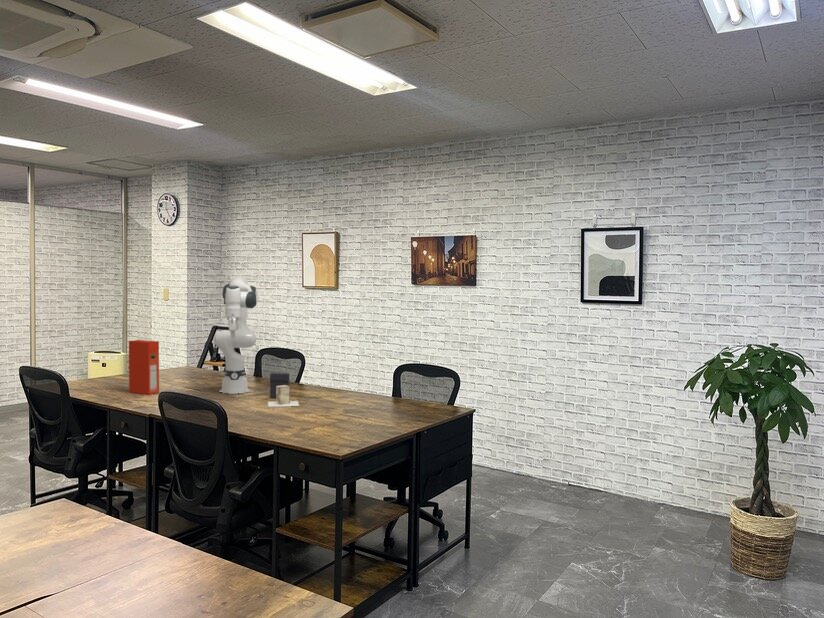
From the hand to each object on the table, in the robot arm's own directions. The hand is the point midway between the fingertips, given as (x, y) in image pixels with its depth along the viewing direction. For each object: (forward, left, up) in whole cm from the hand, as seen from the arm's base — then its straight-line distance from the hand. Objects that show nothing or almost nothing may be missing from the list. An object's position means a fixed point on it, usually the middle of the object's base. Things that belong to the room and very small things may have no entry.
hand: (232, 338), depth 367 cm
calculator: (-8, +27, -37) cm, 47 cm away
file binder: (-36, -54, -37) cm, 75 cm away
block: (+12, +28, -37) cm, 48 cm away
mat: (+12, +28, -37) cm, 48 cm away
